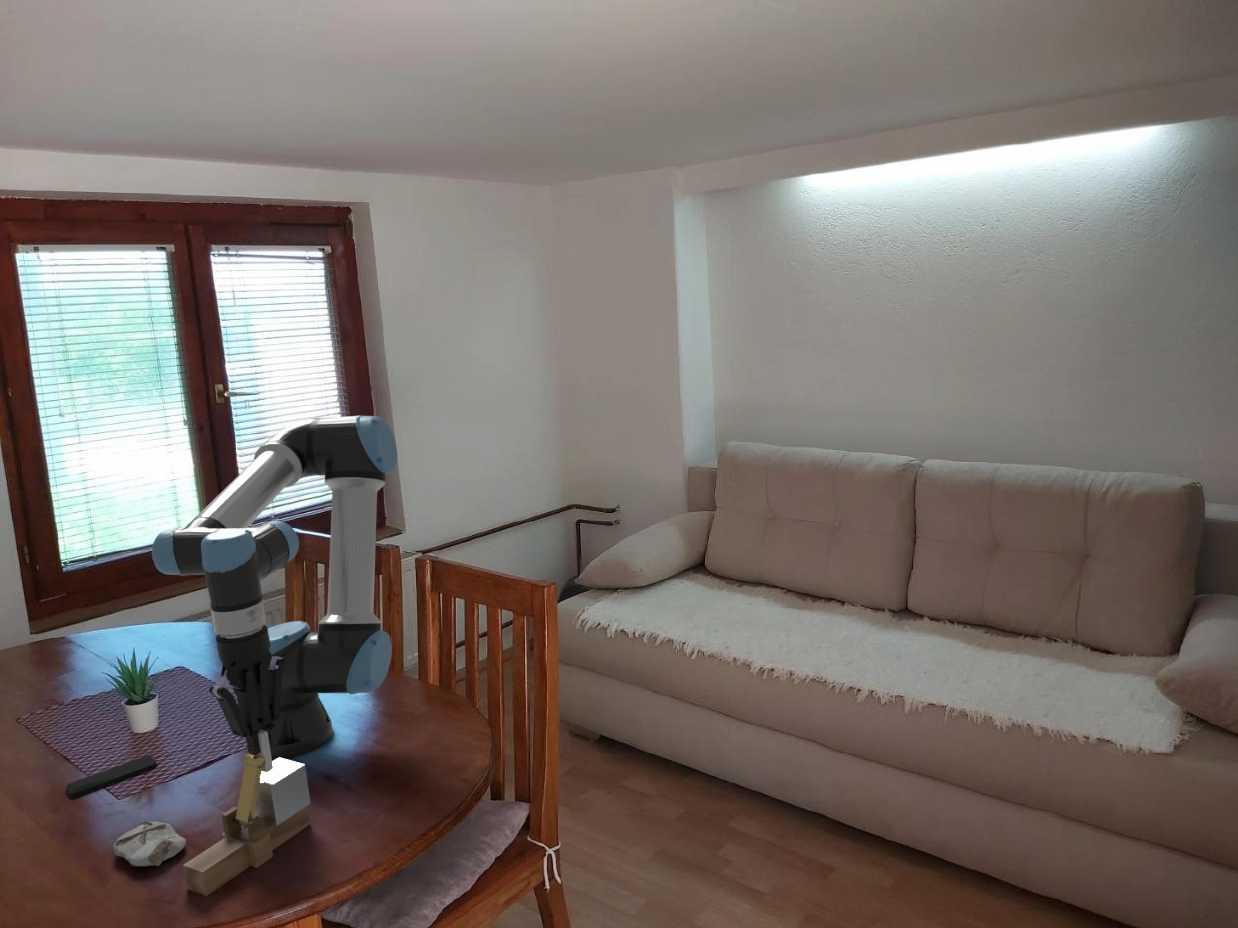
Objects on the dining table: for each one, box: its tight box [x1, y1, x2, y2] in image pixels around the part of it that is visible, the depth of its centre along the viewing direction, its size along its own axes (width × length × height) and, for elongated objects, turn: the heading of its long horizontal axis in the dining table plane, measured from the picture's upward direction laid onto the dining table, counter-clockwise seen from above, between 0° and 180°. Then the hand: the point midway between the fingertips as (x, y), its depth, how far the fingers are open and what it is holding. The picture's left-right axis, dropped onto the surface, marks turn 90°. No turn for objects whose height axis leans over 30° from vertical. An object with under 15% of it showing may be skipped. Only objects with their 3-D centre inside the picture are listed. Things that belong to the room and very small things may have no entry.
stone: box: [113, 821, 187, 867], centre depth 148 cm, size 12×9×3 cm
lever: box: [232, 753, 266, 827], centre depth 145 cm, size 4×2×11 cm, turn 61°
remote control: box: [65, 755, 158, 799], centre depth 173 cm, size 5×2×15 cm
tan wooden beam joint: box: [182, 805, 311, 898], centre depth 145 cm, size 7×20×7 cm, turn 151°
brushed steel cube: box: [253, 757, 311, 826], centre depth 150 cm, size 6×7×7 cm
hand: (264, 768), depth 147 cm, fingers closed
